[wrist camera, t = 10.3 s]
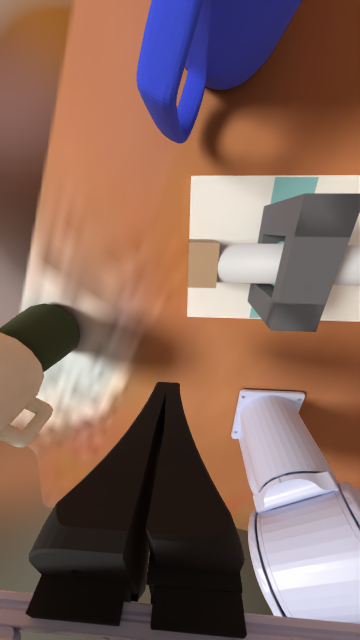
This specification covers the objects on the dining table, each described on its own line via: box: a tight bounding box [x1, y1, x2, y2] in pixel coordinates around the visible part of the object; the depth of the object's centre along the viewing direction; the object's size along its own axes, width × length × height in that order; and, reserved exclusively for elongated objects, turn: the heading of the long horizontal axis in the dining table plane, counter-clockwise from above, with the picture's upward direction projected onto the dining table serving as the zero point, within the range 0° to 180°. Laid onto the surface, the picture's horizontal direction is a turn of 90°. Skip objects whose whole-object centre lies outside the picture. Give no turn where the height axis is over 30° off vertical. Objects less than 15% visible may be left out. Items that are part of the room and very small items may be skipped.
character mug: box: [0, 304, 80, 447], centre depth 16 cm, size 11×7×13 cm, turn 51°
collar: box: [248, 193, 360, 332], centre depth 14 cm, size 8×3×6 cm, turn 0°
